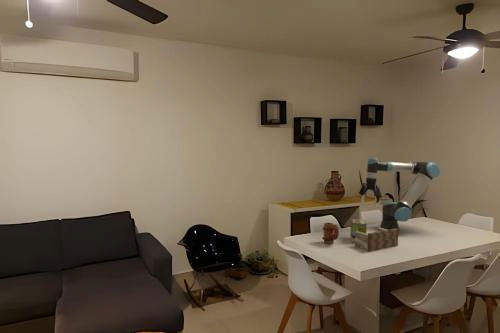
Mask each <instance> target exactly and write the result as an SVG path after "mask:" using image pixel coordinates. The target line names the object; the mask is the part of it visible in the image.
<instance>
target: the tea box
mask: <svg viewBox="0 0 500 333" xmlns="http://www.w3.org/2000/svg"><path fill="white" fill-rule="evenodd" d="M367 229H368V228H367V222H366V220H365V219H359V218H351V219H350V240H351V242H352V243H354V244H355V232H362V233H365V234H367Z"/></svg>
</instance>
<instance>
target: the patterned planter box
mask: <svg viewBox="0 0 500 333" xmlns="http://www.w3.org/2000/svg"><path fill="white" fill-rule="evenodd" d="M354 246H355V247H357V248H361V249H362V250H366V251H367V252H369V253H372V252H374V251H375V252H376V251H381V250H384V249H390V248H394V247H398V246H399V231H398V229H396V228H395V229H390V230H387V229H383V228H380V227H377V231H374V232H369V233H366V234H365V233H362V232H355V243H354Z"/></svg>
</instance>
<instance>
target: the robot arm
mask: <svg viewBox="0 0 500 333" xmlns="http://www.w3.org/2000/svg"><path fill="white" fill-rule="evenodd" d="M378 171H380V172H397V173H398V172H400V173H401V172H402V173H408V174H411V175H416V176H417V177H416V178H415V179H414V182H412V185H410V187H409V188H408V190H407V192H406V193H405V195H404V196H403V198H402V199H401V200H399V201H397V202H395V201H393V202H392V201H389V202H387V201H386V202H385V201H384V202H383V203H382V217H381V218H382V220H381V222H380V225H379V228H383V229H387V230H390V229H395V228H396V229H398V232H399V231H400V226H399V223H398V222H402V223H403V222H405V223H406V222H407V221H409V220H410V219H411V218H412V211H413V208H412V207H413V205H414V204H415V202H416V200H417V199H418V198H419V196H420V195H421V193H422V192H423V190H424V188H425V187H426V185H427V184H428V183H429V182H432V180H433V179H434V178H437V177H439V176H440V173H441V169H440V166H439V164H437V163H435V162H427V161H414V162H413V161H410V162H397V161H396V162H395V161H385V160H384V161H383V160H379V159H378V158H372V157H369V158H368V159H367V168H366V178H365V179H366V180H365V182H363V183H362V186H361V188H360V190H359V192H358V194H359V195H360V204H365V194H366V192H368V191H369V190H370V191H372V192H373V194H374V196H375V199H374V200H375V201H374V207H378V206H379V202H380V199H381V198H383V196H382V193H381V189H380V185H379V184H377V178H378Z"/></svg>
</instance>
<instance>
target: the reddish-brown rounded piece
mask: <svg viewBox="0 0 500 333" xmlns="http://www.w3.org/2000/svg"><path fill="white" fill-rule="evenodd" d="M322 227H323V228H322V230H323V237H322V240H323V242H324V243H325V244H328V245H329V244H333V243H335V242H334V241H335V240H338V237H339V234H340V232H339V226H338V225H337V224H335V223H332V222H324V224H323V226H322Z"/></svg>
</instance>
